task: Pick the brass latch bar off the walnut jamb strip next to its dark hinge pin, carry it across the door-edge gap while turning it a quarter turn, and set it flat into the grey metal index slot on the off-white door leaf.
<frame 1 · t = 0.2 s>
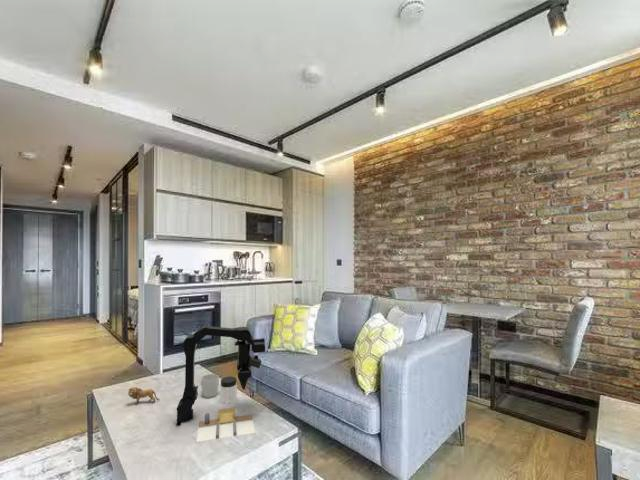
hand: (243, 385, 156), 14 cm above the table, fingers open, 9 cm apart
latch bar: (226, 420, 147), point 1 cm above the table, touching door board
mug: (208, 394, 177), on the table
jar: (228, 402, 168), on the table
lion figurine: (142, 403, 166), on the table
door board: (226, 429, 142), on the table
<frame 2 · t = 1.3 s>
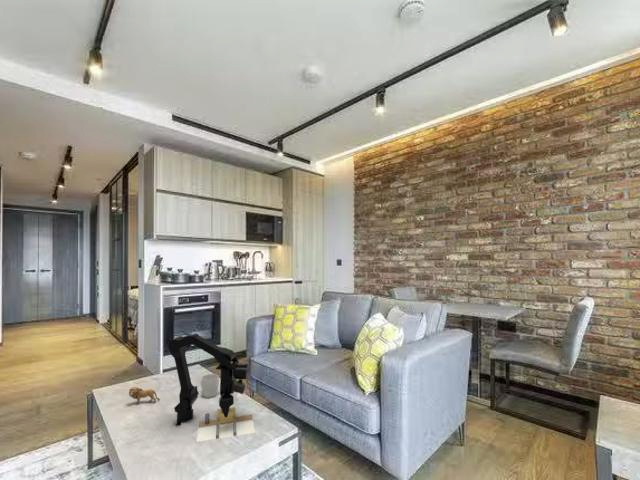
hand: (226, 412, 147), 5 cm above the table, fingers open, 9 cm apart
nothing on the table moved.
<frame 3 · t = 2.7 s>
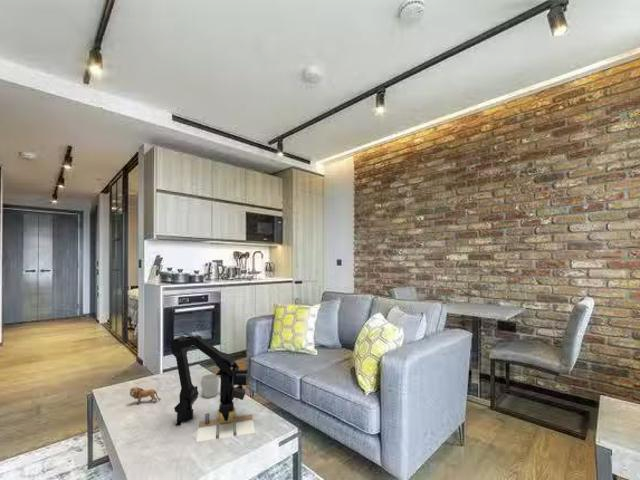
hand: (226, 418, 147), 2 cm above the table, fingers closed on latch bar, 4 cm apart
latch bar: (226, 420, 147), point 1 cm above the table, touching door board, gripper
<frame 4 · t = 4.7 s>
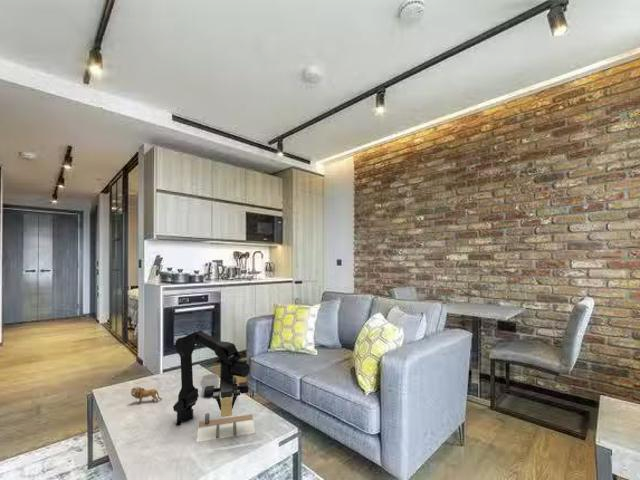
hand: (226, 409, 139), 11 cm above the table, fingers closed on latch bar, 4 cm apart
latch bar: (226, 411, 139), point 10 cm above the table, touching gripper
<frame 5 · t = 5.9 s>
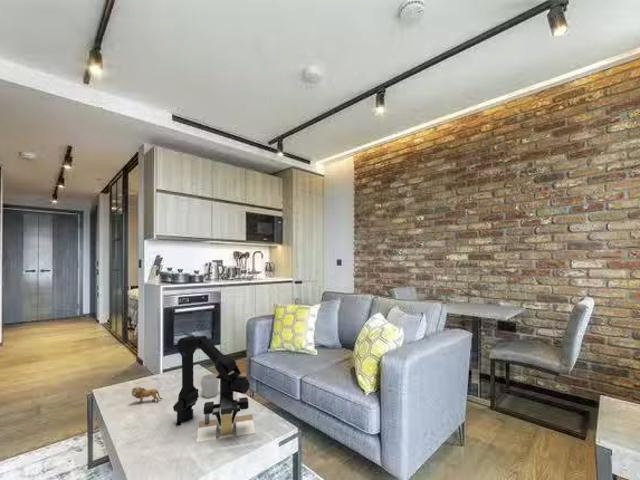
hand: (226, 425, 139), 4 cm above the table, fingers closed on latch bar, 4 cm apart
latch bar: (226, 427, 139), point 3 cm above the table, touching gripper
when the fingers open (4 cm above the table, at t = 6.6 s): latch bar drops 1 cm, resting on door board.
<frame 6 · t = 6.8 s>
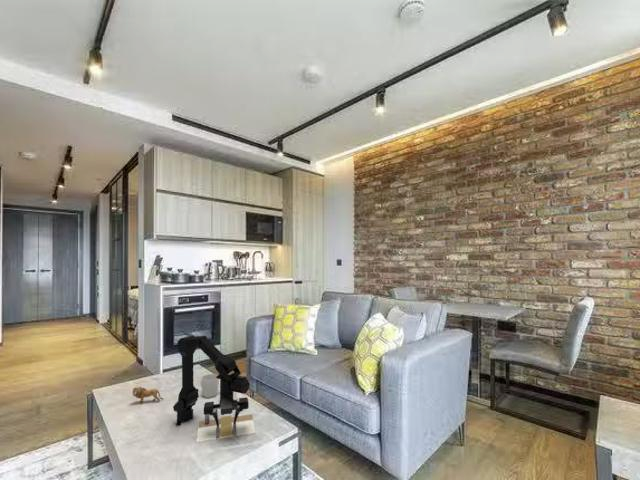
hand: (226, 425, 139), 4 cm above the table, fingers open, 7 cm apart
latch bar: (226, 431, 138), point 1 cm above the table, touching door board
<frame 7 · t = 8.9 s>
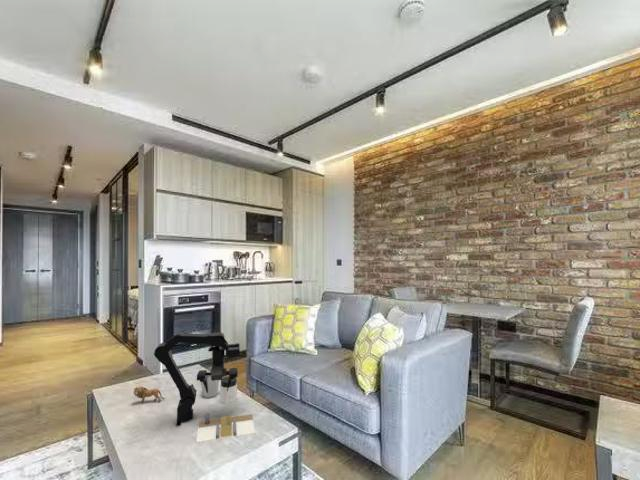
hand: (217, 391, 154), 12 cm above the table, fingers open, 9 cm apart
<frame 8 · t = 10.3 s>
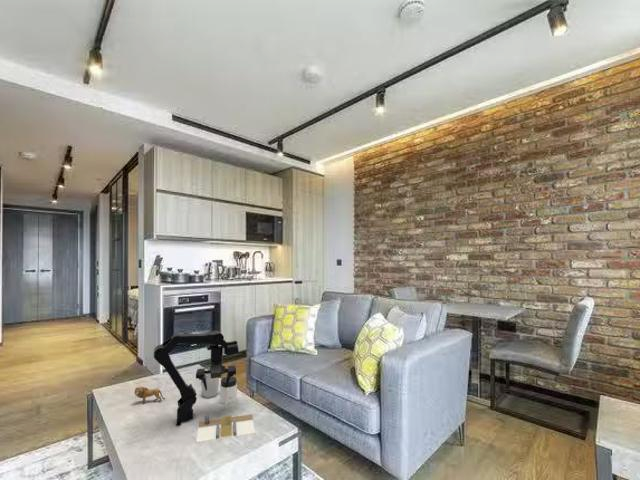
hand: (216, 389, 156), 12 cm above the table, fingers open, 9 cm apart
at the end: latch bar 0.0 cm from the target spot, point 1.2 cm above the table; latch bar tilted 0°; the gripper is holding nothing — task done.
